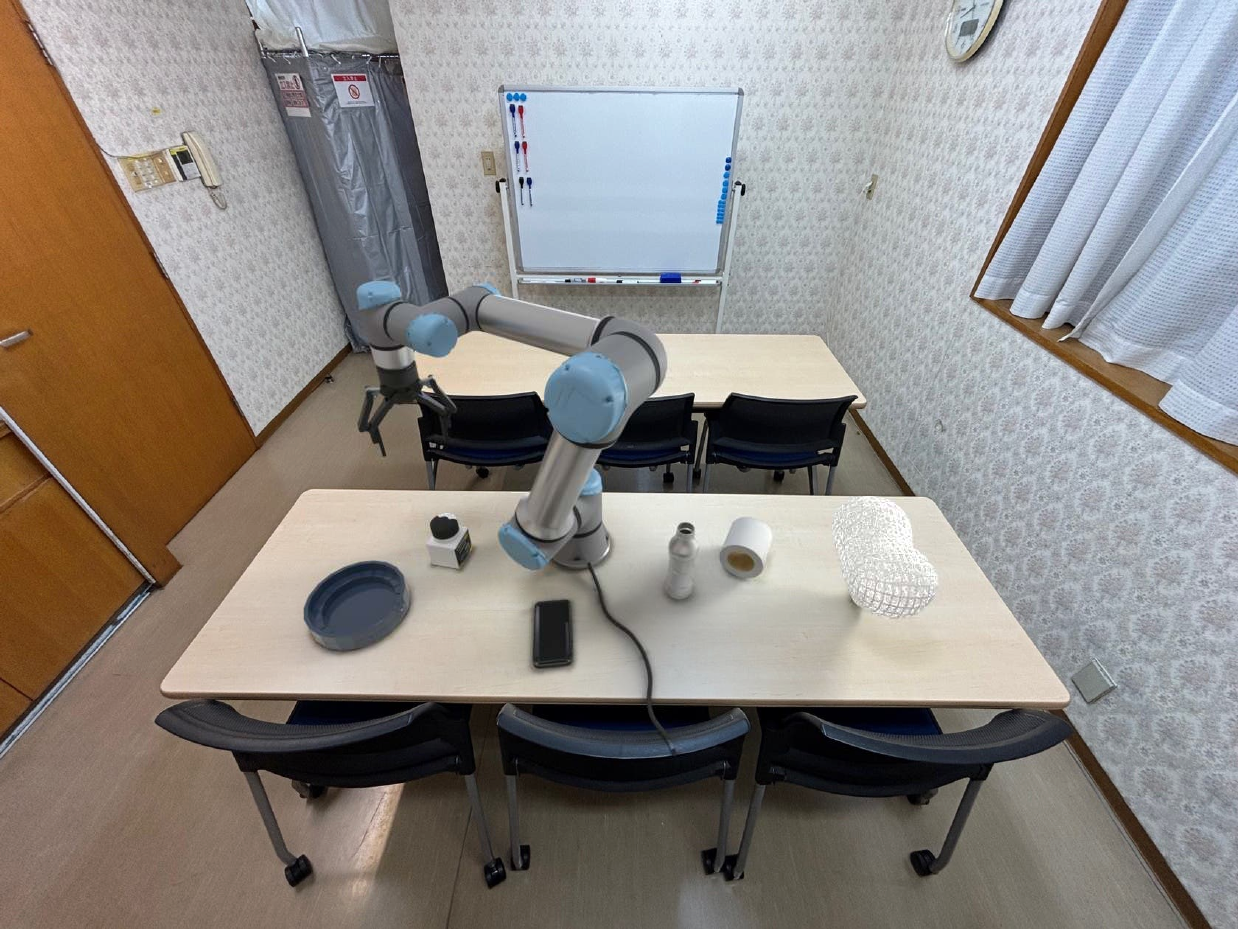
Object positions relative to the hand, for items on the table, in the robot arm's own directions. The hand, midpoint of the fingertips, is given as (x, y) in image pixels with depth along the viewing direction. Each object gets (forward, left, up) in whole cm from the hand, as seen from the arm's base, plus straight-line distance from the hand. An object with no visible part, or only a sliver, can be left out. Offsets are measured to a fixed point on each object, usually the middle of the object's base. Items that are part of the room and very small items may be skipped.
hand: (415, 446), depth 115 cm
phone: (-45, -1, -25) cm, 52 cm away
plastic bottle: (-57, -28, -25) cm, 68 cm away
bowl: (-12, +25, -25) cm, 37 cm away
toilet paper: (-61, -46, -25) cm, 81 cm away
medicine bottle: (-12, +3, -25) cm, 28 cm away
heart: (-86, -55, -25) cm, 105 cm away
